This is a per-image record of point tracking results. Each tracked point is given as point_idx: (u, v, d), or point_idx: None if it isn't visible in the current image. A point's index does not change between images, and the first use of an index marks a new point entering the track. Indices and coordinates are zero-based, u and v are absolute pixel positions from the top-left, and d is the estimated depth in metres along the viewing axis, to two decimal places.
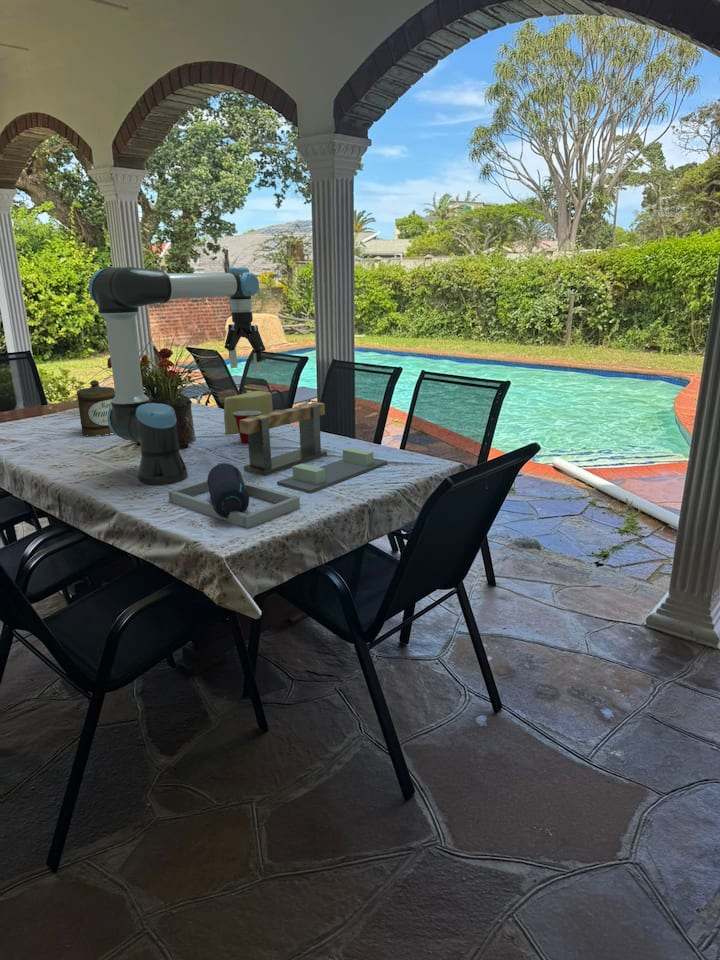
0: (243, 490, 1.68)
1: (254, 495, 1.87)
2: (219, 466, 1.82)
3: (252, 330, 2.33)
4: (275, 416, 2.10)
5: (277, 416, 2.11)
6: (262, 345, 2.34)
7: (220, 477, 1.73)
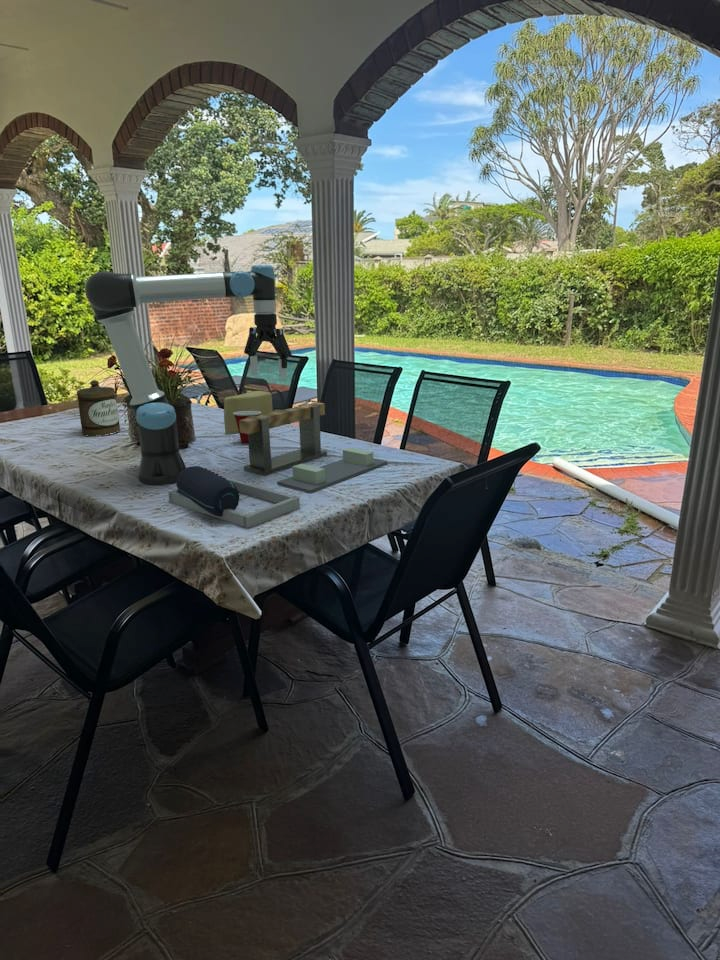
0: (234, 486, 1.71)
1: (254, 495, 1.87)
2: (190, 469, 1.81)
3: (277, 334, 2.13)
4: (275, 416, 2.10)
5: (277, 416, 2.11)
6: (288, 350, 2.15)
7: (204, 478, 1.73)
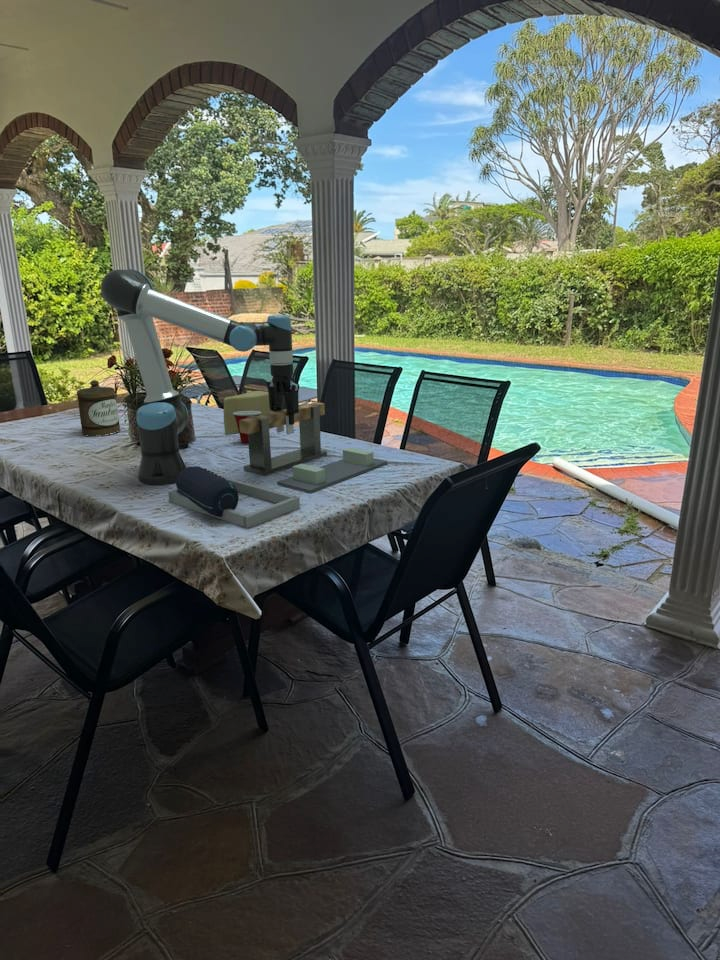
0: (233, 486, 1.71)
1: (254, 495, 1.87)
2: (189, 470, 1.81)
3: (292, 390, 2.09)
4: (275, 416, 2.10)
5: (277, 416, 2.11)
6: (297, 407, 2.12)
7: (204, 479, 1.73)
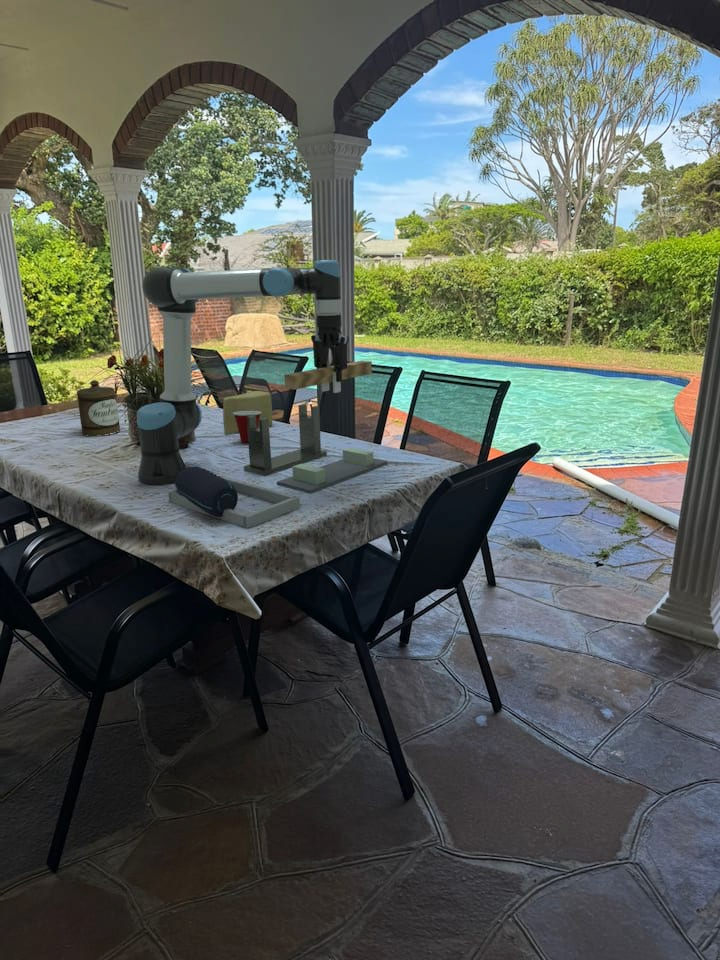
0: (233, 486, 1.71)
1: (254, 495, 1.87)
2: (188, 470, 1.80)
3: (341, 342, 1.91)
4: (322, 371, 1.92)
5: (324, 372, 1.93)
6: (345, 363, 1.94)
7: (203, 479, 1.72)
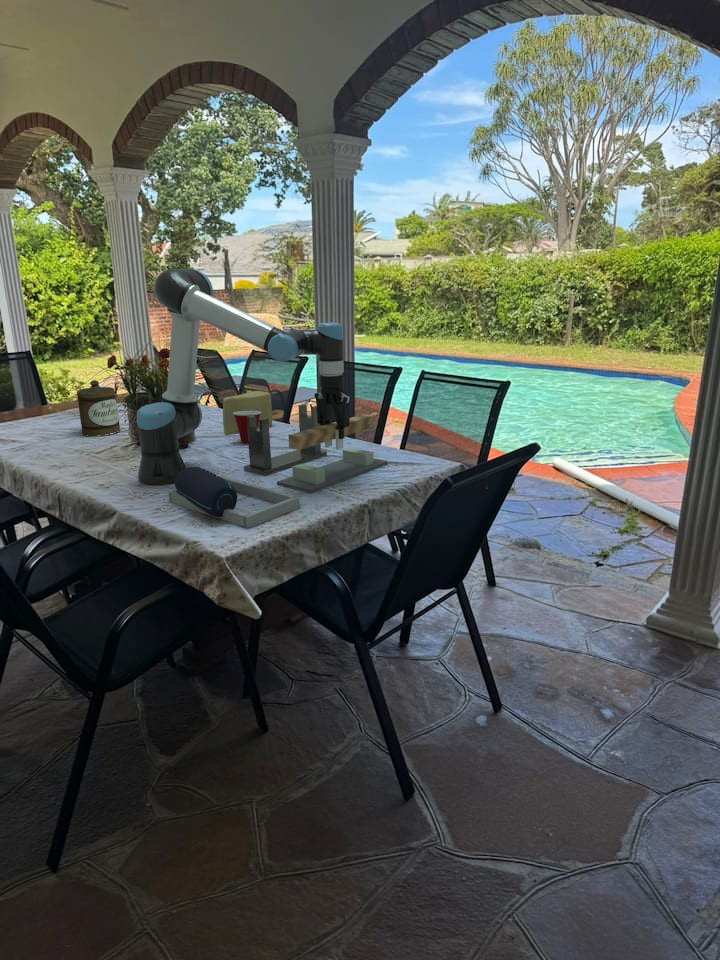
0: (232, 486, 1.71)
1: (254, 495, 1.87)
2: (188, 470, 1.80)
3: (343, 402, 1.96)
4: (325, 430, 1.97)
5: (327, 430, 1.98)
6: (348, 421, 1.99)
7: (202, 479, 1.72)
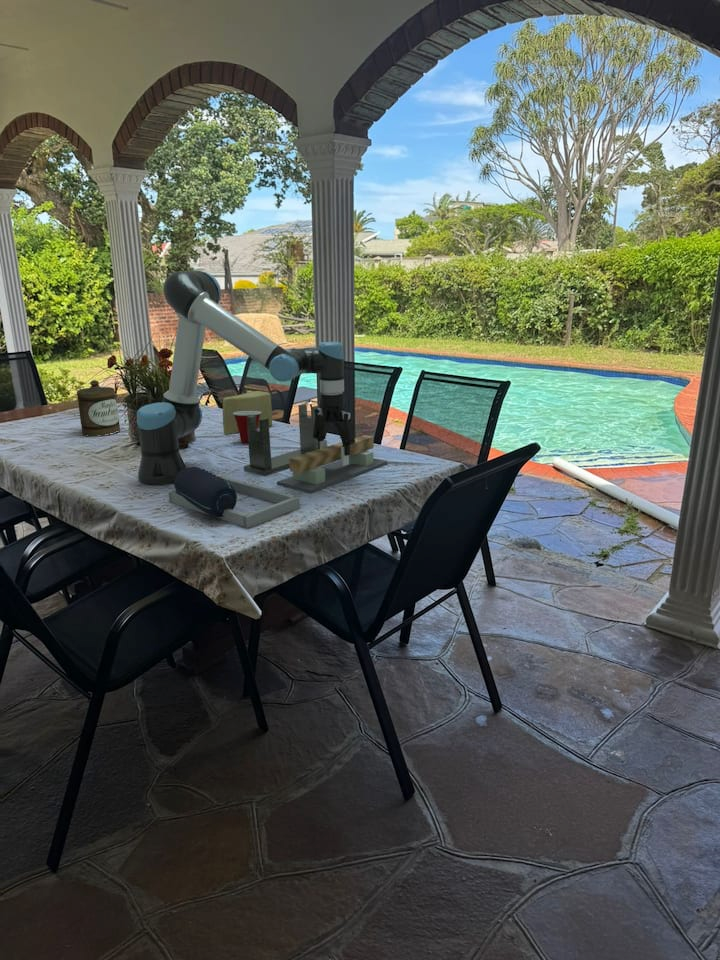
0: (231, 486, 1.71)
1: (254, 495, 1.87)
2: (187, 470, 1.80)
3: (345, 419, 1.97)
4: (326, 453, 1.99)
5: (328, 453, 2.00)
6: (353, 437, 1.99)
7: (202, 479, 1.72)
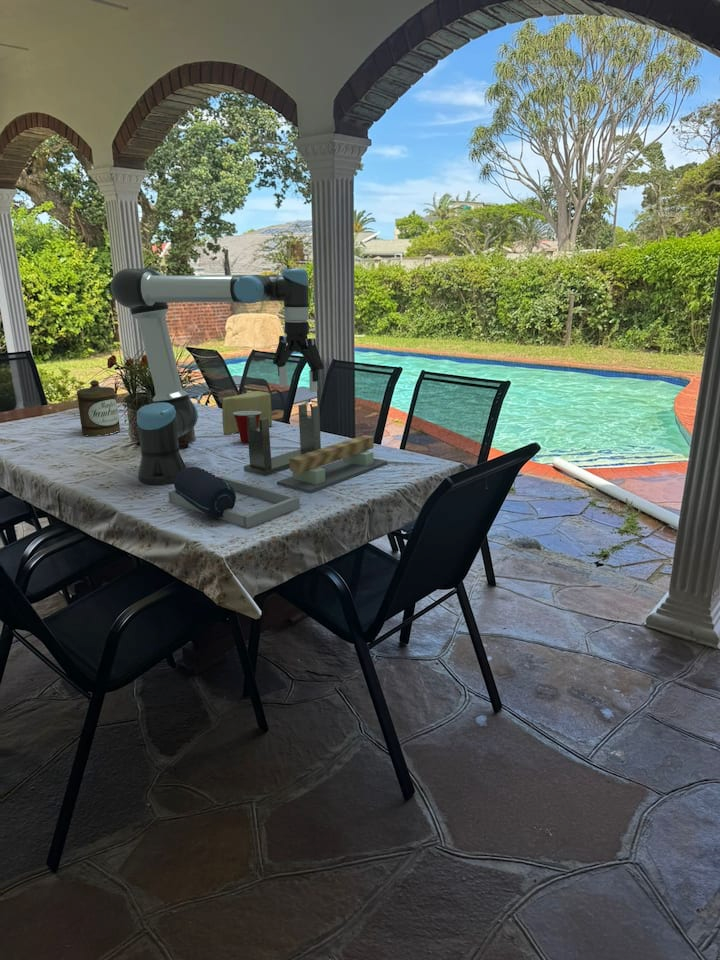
0: (230, 487, 1.70)
1: (254, 495, 1.87)
2: (187, 470, 1.80)
3: (309, 344, 1.96)
4: (326, 453, 1.99)
5: (328, 453, 2.00)
6: (320, 362, 1.97)
7: (201, 479, 1.72)
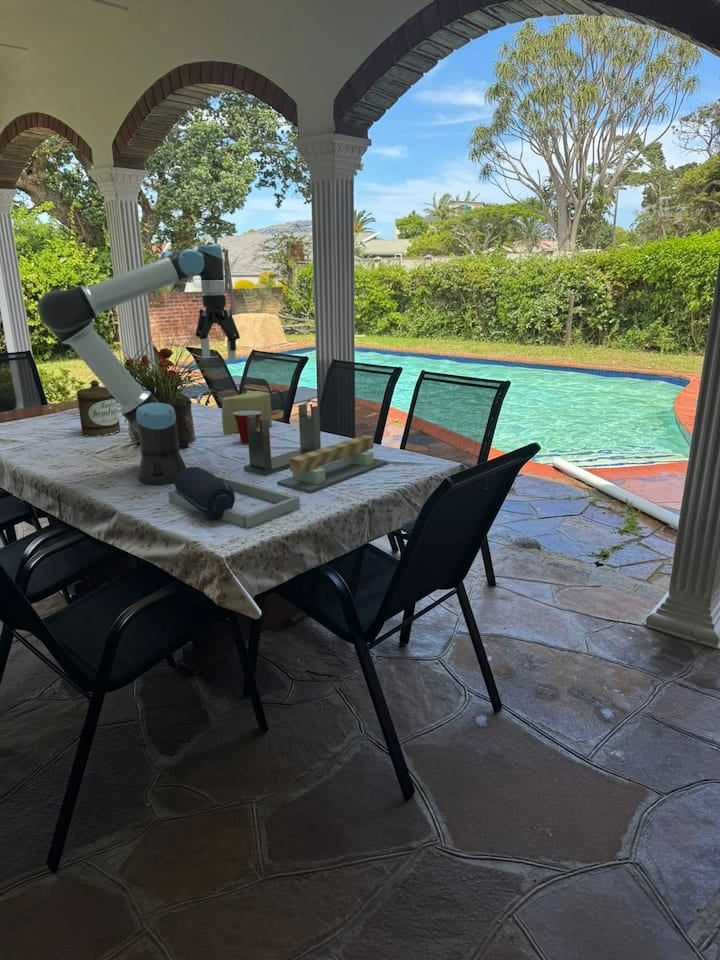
0: (229, 487, 1.70)
1: (254, 495, 1.87)
2: (188, 470, 1.80)
3: (225, 315, 2.08)
4: (326, 453, 1.99)
5: (328, 453, 2.00)
6: (236, 332, 2.10)
7: (200, 480, 1.72)
